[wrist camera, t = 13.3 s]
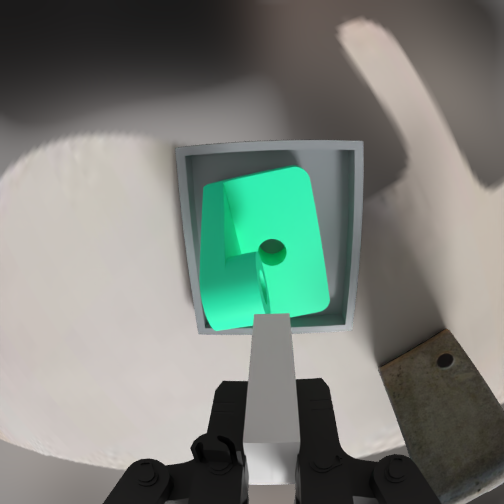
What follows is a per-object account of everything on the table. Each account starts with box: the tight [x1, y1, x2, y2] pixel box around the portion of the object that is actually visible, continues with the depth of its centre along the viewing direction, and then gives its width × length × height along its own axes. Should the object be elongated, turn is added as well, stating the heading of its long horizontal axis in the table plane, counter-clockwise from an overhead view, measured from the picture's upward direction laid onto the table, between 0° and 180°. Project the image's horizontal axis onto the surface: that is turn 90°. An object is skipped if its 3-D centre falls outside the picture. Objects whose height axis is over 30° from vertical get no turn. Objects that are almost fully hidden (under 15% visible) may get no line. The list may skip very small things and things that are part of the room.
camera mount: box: [199, 165, 330, 331], centre depth 22 cm, size 12×8×10 cm, turn 13°
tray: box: [175, 140, 363, 335], centre depth 26 cm, size 14×16×2 cm
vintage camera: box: [378, 329, 504, 504], centre depth 23 cm, size 10×16×20 cm, turn 33°
